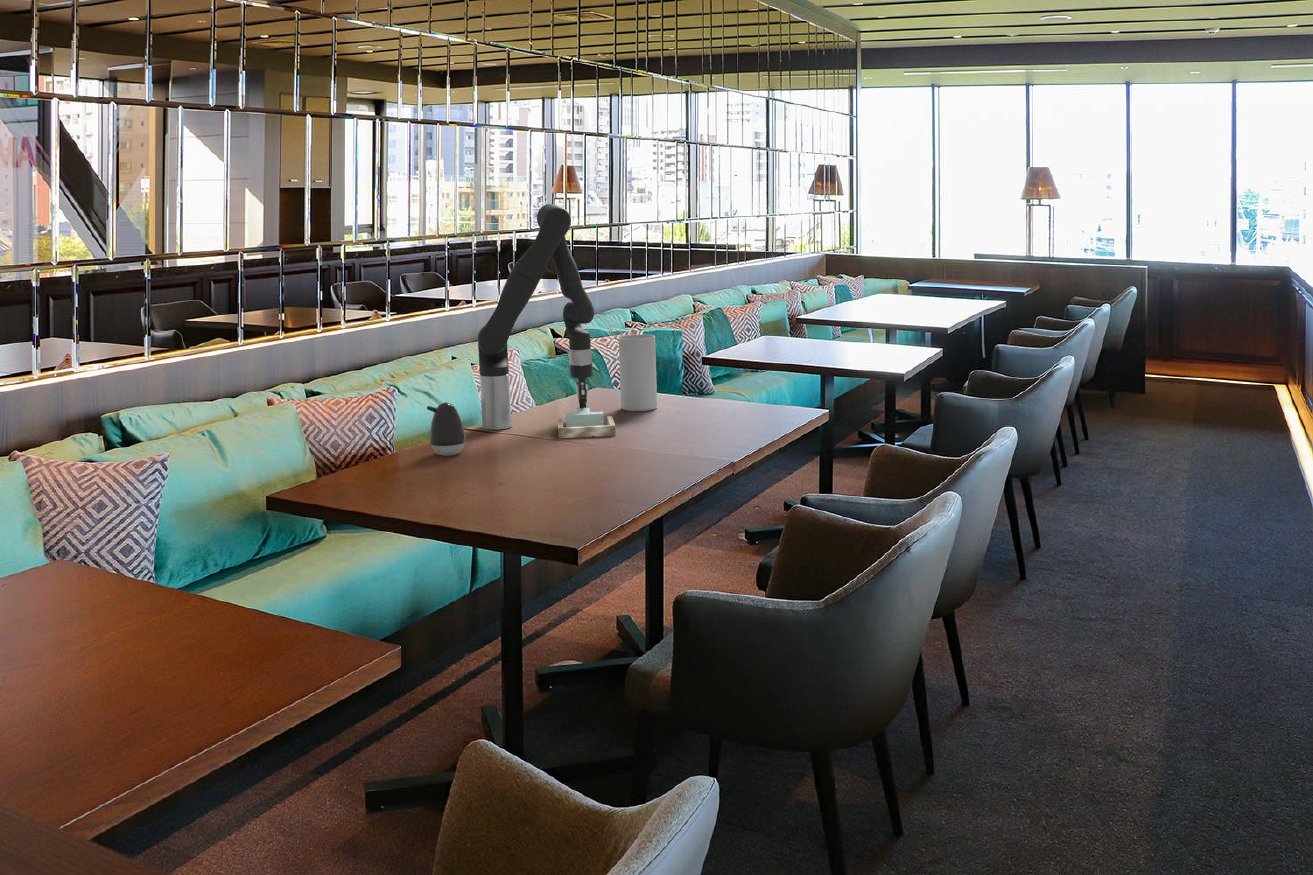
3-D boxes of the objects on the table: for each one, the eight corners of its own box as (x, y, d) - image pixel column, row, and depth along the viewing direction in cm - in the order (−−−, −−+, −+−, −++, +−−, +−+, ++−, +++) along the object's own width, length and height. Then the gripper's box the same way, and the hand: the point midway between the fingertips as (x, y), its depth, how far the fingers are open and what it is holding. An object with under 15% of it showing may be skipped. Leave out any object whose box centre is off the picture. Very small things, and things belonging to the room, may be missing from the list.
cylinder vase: (656, 411, 379) (654, 338, 374) (620, 412, 379) (617, 339, 374) (657, 405, 391) (655, 334, 386) (621, 405, 391) (619, 335, 386)
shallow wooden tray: (558, 438, 339) (558, 428, 339) (557, 427, 355) (557, 418, 355) (615, 435, 341) (615, 425, 340) (612, 425, 357) (611, 416, 357)
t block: (565, 420, 367) (564, 408, 366) (601, 419, 368) (601, 407, 367) (566, 427, 355) (565, 415, 354) (603, 426, 356) (603, 413, 355)
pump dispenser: (432, 451, 326) (428, 400, 323) (467, 449, 327) (464, 398, 324) (427, 458, 316) (424, 406, 313) (464, 457, 317) (461, 404, 314)
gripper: (568, 360, 371) (570, 411, 375) (570, 366, 359) (572, 418, 362) (590, 359, 372) (593, 410, 376) (593, 364, 359) (595, 417, 363)
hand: (583, 414), depth 369 cm, fingers closed
